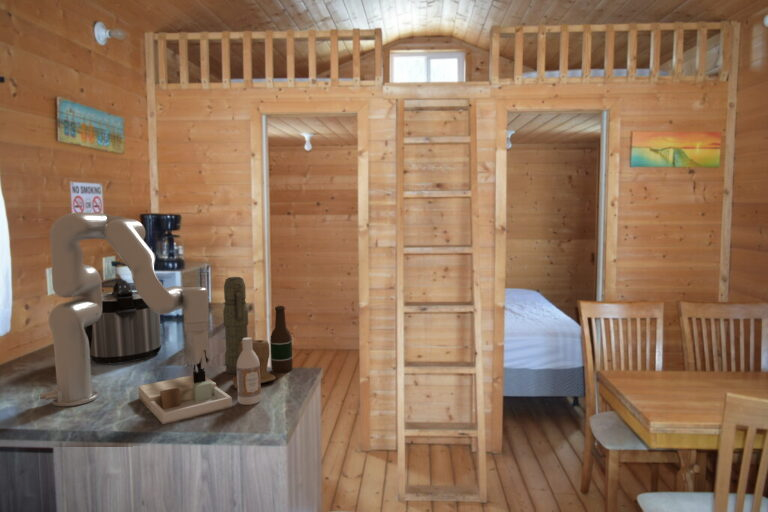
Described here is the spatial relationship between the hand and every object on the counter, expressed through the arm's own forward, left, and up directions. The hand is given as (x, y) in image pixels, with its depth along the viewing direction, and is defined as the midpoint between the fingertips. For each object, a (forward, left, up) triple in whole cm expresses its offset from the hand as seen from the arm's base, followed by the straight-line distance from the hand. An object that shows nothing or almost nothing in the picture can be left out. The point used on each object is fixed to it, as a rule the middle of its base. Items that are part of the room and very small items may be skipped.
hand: (199, 383), depth 163 cm
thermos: (+21, +20, -5) cm, 30 cm away
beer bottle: (+34, +10, -5) cm, 36 cm away
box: (-5, -7, -5) cm, 10 cm away
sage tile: (0, -1, -2) cm, 2 cm away
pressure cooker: (-8, +70, -5) cm, 71 cm away
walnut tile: (-10, -1, -2) cm, 10 cm away
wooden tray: (-5, +6, -5) cm, 9 cm away
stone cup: (+19, +3, -5) cm, 20 cm away
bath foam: (+11, -13, -5) cm, 18 cm away
